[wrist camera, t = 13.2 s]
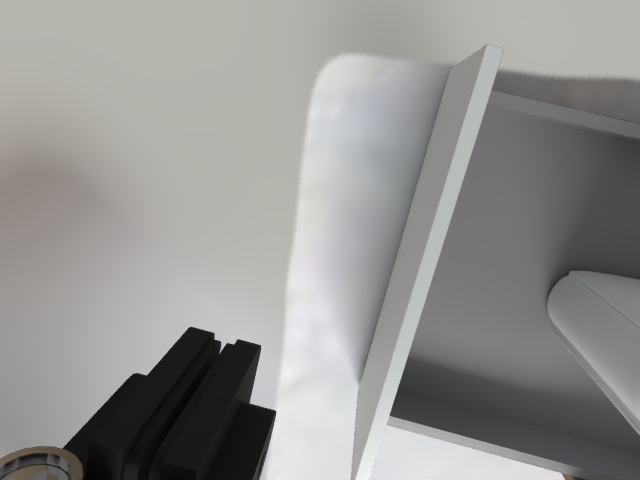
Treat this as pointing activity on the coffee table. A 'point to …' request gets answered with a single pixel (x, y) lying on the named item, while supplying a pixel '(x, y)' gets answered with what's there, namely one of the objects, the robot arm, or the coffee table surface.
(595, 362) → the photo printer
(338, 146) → the coffee table surface
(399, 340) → the sliding tray
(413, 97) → the coffee table surface
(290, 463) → the coffee table surface
